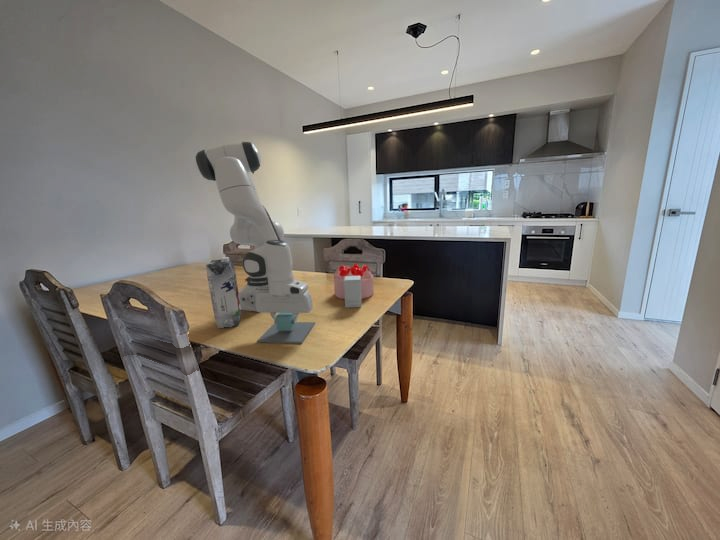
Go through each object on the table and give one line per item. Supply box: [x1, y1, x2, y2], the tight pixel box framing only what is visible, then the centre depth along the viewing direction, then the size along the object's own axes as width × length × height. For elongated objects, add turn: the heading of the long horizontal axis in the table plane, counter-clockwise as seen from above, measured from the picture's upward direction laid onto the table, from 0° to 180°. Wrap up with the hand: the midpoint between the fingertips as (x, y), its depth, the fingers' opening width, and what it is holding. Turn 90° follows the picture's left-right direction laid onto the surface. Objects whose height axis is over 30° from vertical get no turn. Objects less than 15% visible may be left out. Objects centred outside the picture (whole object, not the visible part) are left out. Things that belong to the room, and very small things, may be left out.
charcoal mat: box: [256, 321, 316, 345], centre depth 104 cm, size 16×16×1 cm
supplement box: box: [344, 276, 363, 308], centre depth 128 cm, size 7×7×13 cm
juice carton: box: [205, 256, 242, 329], centre depth 112 cm, size 9×10×27 cm
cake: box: [333, 263, 375, 301], centre depth 143 cm, size 20×20×14 cm
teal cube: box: [275, 313, 295, 331], centre depth 103 cm, size 5×5×5 cm
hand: (285, 323), depth 103 cm, fingers closed on teal cube, 5 cm apart
